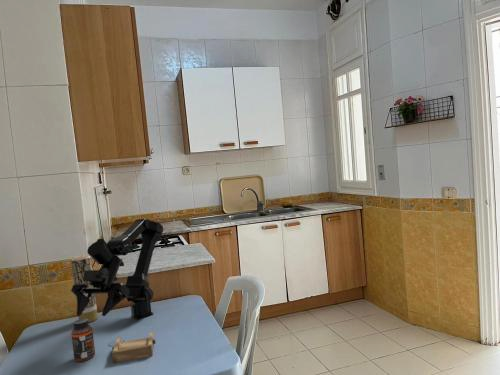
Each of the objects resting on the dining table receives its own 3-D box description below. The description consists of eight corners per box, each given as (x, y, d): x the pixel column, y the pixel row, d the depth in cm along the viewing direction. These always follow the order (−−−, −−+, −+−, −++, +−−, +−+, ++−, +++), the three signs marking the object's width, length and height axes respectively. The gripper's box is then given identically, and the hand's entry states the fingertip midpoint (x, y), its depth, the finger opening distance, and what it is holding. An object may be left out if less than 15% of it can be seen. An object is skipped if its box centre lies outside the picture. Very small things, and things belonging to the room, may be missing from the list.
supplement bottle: (90, 361, 111) (85, 323, 111) (70, 363, 111) (65, 325, 111) (98, 352, 117) (94, 316, 117) (80, 353, 117) (75, 318, 117)
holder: (115, 347, 119) (114, 338, 119) (156, 339, 122) (155, 330, 122) (110, 363, 108) (109, 353, 108) (155, 355, 111) (154, 345, 111)
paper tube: (90, 323, 143) (83, 258, 142) (75, 324, 144) (67, 259, 143) (101, 316, 149) (94, 254, 148) (86, 317, 151) (78, 255, 150)
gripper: (71, 260, 125) (49, 304, 115) (120, 257, 121) (102, 303, 110) (89, 276, 133) (71, 319, 123) (136, 275, 128) (121, 319, 118)
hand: (90, 315), depth 118 cm, fingers open, 9 cm apart
